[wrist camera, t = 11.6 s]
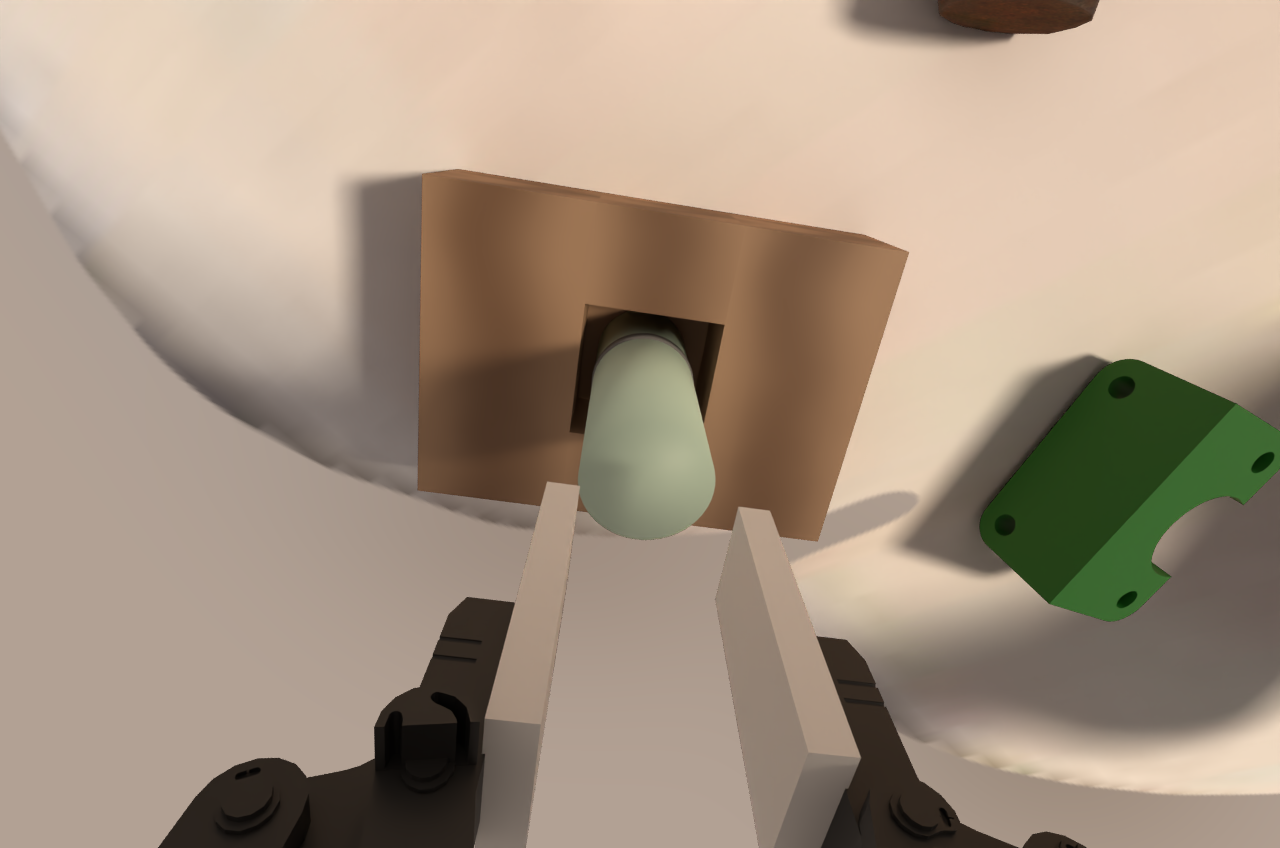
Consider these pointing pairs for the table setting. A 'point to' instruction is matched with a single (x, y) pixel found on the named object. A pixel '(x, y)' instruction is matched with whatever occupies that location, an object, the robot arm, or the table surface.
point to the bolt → (1019, 14)
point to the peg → (644, 433)
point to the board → (650, 283)
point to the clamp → (1123, 486)
